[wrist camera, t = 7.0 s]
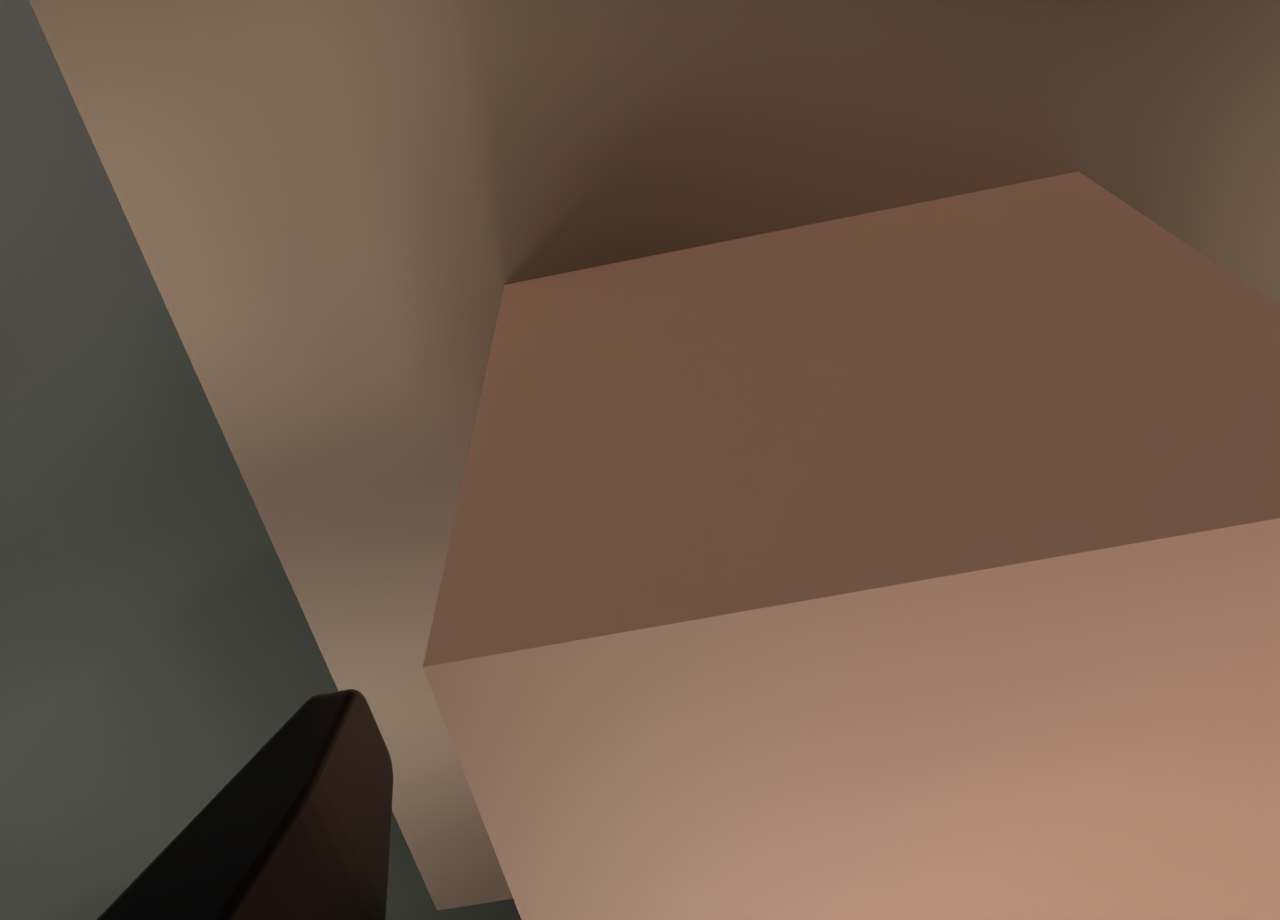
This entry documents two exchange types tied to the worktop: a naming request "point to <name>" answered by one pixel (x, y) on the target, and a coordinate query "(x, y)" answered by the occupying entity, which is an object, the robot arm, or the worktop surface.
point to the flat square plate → (575, 222)
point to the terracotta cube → (878, 575)
